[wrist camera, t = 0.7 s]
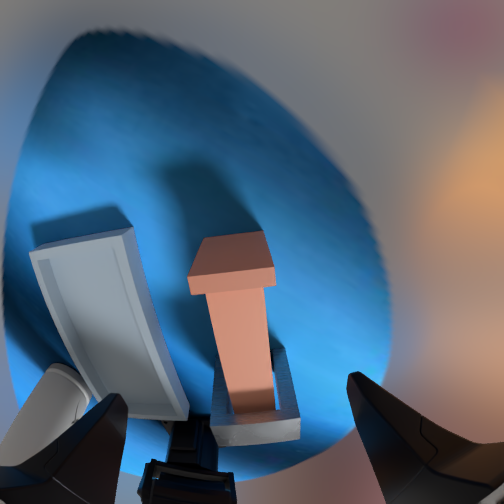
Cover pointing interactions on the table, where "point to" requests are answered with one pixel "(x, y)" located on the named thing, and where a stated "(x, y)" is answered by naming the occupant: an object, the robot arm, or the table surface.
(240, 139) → the table surface
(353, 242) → the table surface
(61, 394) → the travel mug
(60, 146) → the table surface
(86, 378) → the tray
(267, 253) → the pink curved block
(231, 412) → the bracket
